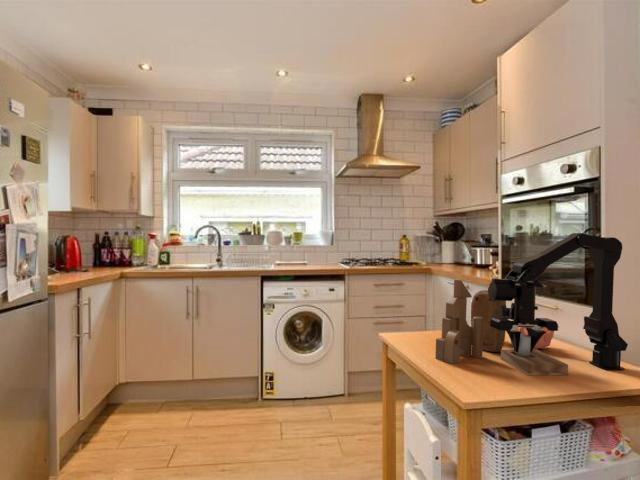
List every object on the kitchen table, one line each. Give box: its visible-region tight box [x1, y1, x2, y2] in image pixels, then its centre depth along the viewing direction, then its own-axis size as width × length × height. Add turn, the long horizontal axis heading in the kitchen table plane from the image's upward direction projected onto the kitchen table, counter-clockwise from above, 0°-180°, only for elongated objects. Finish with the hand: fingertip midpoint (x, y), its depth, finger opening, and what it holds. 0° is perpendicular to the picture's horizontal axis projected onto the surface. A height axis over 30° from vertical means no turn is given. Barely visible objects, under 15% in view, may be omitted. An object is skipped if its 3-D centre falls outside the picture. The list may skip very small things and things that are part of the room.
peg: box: [515, 334, 531, 357], centre depth 118 cm, size 4×4×8 cm
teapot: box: [518, 327, 555, 351], centre depth 138 cm, size 14×12×10 cm
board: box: [500, 349, 569, 376], centre depth 117 cm, size 12×14×3 cm
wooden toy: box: [435, 278, 484, 365], centre depth 123 cm, size 15×7×25 cm, turn 122°
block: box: [470, 289, 507, 353], centre depth 134 cm, size 11×8×20 cm
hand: (522, 352), depth 118 cm, fingers closed on peg, 4 cm apart
